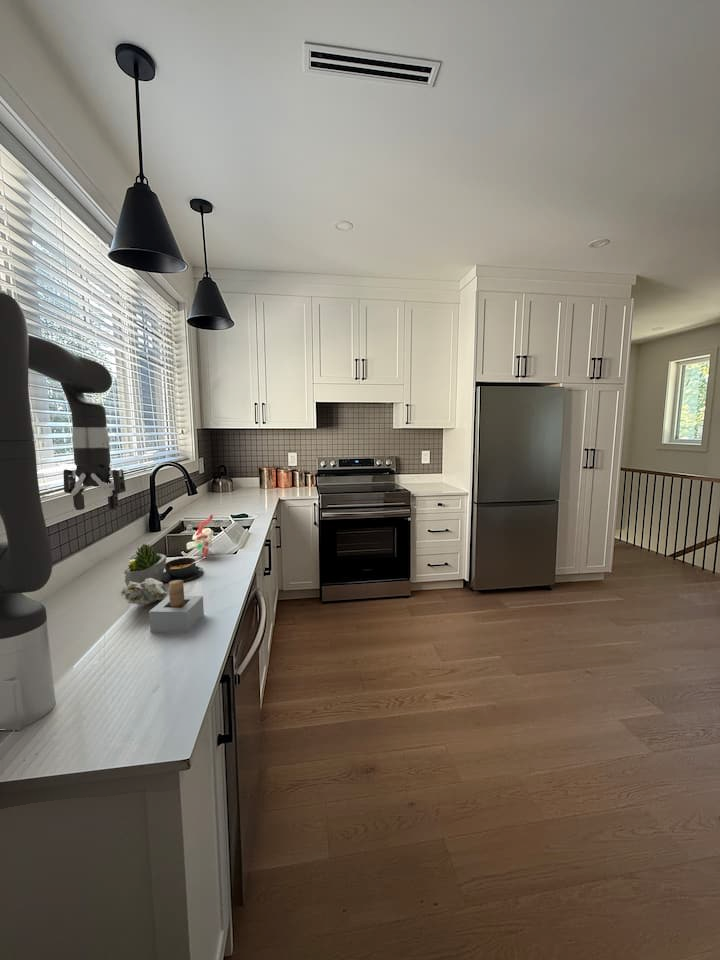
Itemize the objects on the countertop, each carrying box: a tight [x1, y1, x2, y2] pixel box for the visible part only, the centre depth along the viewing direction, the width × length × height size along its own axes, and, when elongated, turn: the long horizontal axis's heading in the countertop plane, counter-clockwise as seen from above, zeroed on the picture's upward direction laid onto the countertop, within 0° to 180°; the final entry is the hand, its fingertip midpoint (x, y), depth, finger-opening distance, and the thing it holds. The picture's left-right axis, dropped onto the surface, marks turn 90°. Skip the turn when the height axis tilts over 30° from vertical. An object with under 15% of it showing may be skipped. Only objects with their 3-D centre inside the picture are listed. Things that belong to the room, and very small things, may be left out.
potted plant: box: [124, 543, 167, 587], centre depth 134 cm, size 12×13×15 cm
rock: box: [120, 578, 169, 607], centre depth 119 cm, size 19×11×10 cm, turn 16°
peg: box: [168, 580, 185, 608], centre depth 108 cm, size 4×4×12 cm
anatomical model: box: [185, 514, 214, 558], centre depth 164 cm, size 15×11×18 cm
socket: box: [148, 595, 205, 634], centre depth 108 cm, size 10×10×6 cm
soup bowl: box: [160, 557, 205, 583], centre depth 143 cm, size 15×16×7 cm
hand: (96, 509), depth 100 cm, fingers open, 8 cm apart
